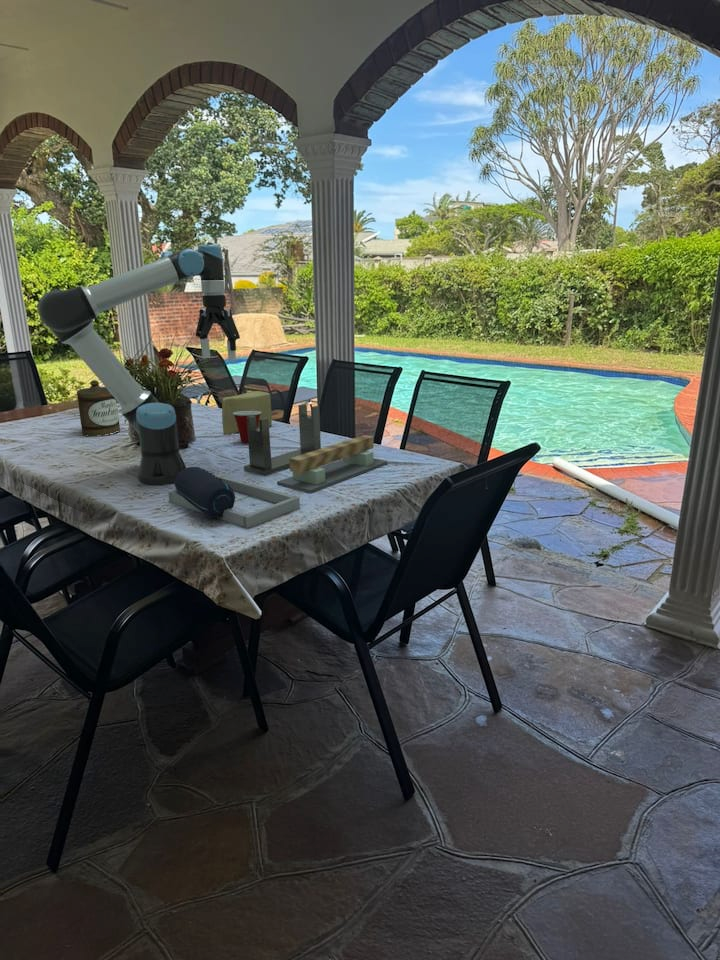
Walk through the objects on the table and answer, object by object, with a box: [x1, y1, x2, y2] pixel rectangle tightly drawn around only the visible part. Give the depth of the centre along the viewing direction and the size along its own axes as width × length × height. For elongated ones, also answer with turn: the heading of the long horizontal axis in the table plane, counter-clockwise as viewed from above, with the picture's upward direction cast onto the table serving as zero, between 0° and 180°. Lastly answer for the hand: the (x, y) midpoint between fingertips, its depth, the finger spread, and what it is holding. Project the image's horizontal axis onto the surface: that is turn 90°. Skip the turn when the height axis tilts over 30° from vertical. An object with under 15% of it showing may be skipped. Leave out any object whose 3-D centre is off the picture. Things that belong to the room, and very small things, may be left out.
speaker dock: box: [167, 475, 301, 529], centre depth 181 cm, size 19×34×3 cm, turn 51°
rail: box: [289, 434, 375, 473], centre depth 206 cm, size 36×4×4 cm, turn 141°
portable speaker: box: [174, 466, 236, 519], centre depth 177 cm, size 25×10×10 cm, turn 35°
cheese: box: [221, 390, 273, 435], centre depth 267 cm, size 22×10×15 cm, turn 139°
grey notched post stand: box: [243, 403, 322, 477], centre depth 218 cm, size 30×10×18 cm, turn 141°
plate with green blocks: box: [276, 450, 388, 494], centre depth 207 cm, size 38×14×5 cm, turn 141°
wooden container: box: [76, 379, 121, 437], centre depth 265 cm, size 15×15×22 cm
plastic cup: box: [233, 411, 261, 444], centre depth 248 cm, size 11×11×12 cm
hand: (219, 359), depth 218 cm, fingers open, 13 cm apart
